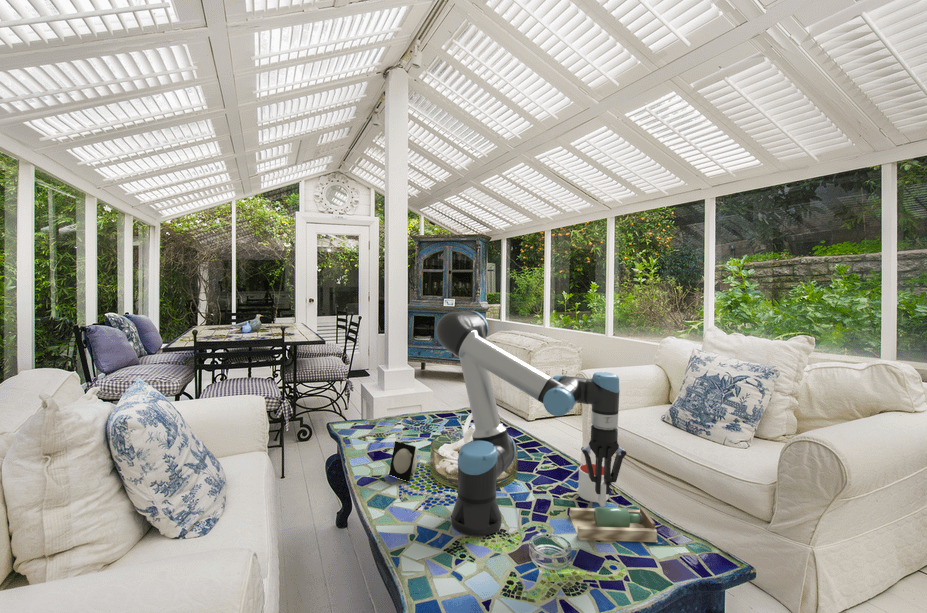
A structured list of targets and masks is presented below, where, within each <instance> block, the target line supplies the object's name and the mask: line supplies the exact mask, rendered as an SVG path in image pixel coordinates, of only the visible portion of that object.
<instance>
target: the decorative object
mask: <svg viewBox="0 0 927 613" xmlns="http://www.w3.org/2000/svg"><path fill="white" fill-rule="evenodd" d="M392 450H393V451H392V456H391V461H390V466H389V472H388V476H389V475H392V476H395V477H397V478H400V479H403V480H406V481H409V483H410V481H411V475H412V474H414V473H416V469H417V467H418V459H417V457H418V454H417V447H416V446H415V445H413V444H407V443H403V442H400V441H396V440H395V441H394V445H393V449H392ZM411 473H412V474H411Z"/></svg>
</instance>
